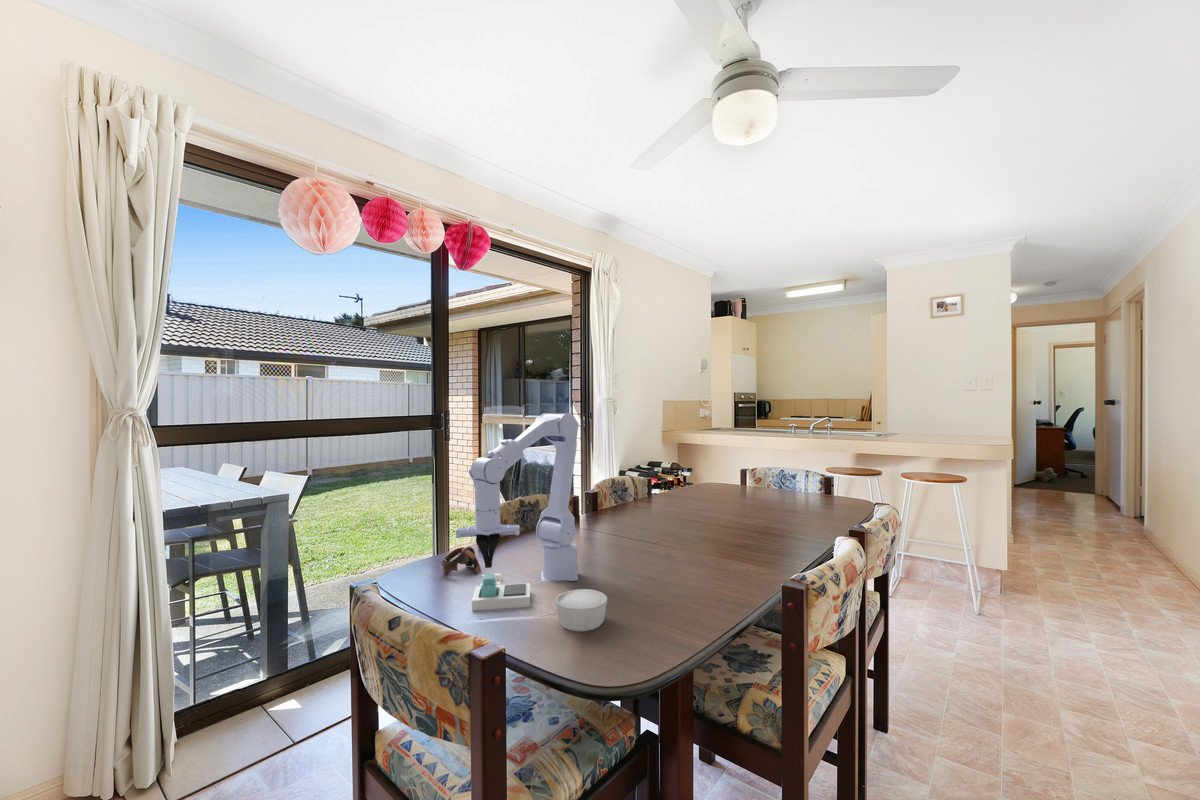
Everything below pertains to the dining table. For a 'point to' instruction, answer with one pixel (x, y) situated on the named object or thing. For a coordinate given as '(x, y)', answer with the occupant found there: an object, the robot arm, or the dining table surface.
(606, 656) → the dining table surface
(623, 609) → the dining table surface
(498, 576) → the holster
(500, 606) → the panel
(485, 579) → the plug
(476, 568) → the brown jagged curved sculpture
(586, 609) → the ramekin
